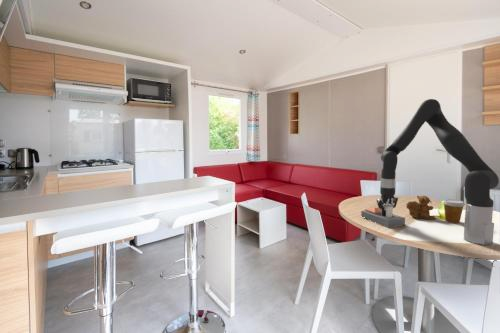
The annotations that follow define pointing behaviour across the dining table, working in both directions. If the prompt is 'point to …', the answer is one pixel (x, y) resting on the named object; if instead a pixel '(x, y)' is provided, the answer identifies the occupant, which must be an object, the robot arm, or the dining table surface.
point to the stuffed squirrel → (420, 208)
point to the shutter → (374, 210)
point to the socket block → (384, 219)
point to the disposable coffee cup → (453, 210)
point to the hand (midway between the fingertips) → (386, 215)
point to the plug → (388, 211)
